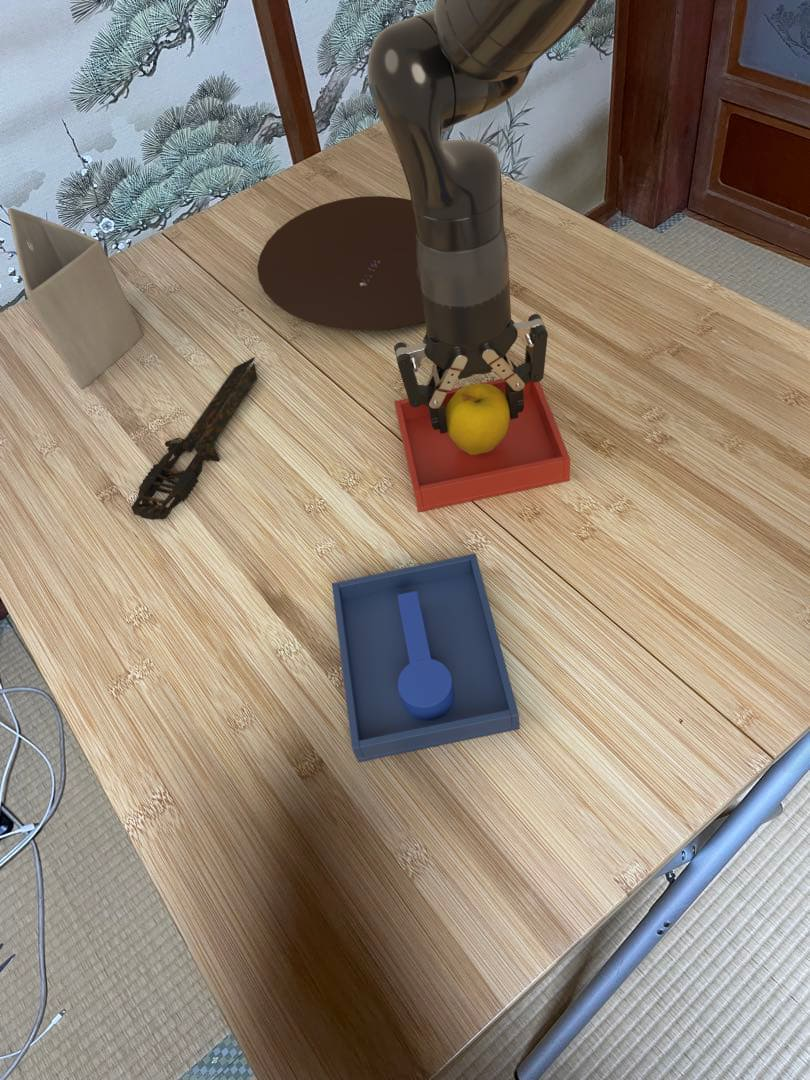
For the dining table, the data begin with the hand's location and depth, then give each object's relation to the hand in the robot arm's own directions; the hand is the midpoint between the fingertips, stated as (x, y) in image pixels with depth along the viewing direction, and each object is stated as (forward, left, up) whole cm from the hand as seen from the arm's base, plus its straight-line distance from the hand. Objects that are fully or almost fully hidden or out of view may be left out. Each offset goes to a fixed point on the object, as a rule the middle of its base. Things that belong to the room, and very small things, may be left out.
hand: (477, 420), depth 83 cm
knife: (+29, -11, -4) cm, 31 cm away
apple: (0, 0, -4) cm, 4 cm away
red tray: (0, 0, -4) cm, 4 cm away
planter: (+41, -32, -5) cm, 52 cm away
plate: (+7, -35, -5) cm, 36 cm away
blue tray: (+10, +23, -4) cm, 25 cm away
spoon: (+10, +23, -4) cm, 26 cm away
